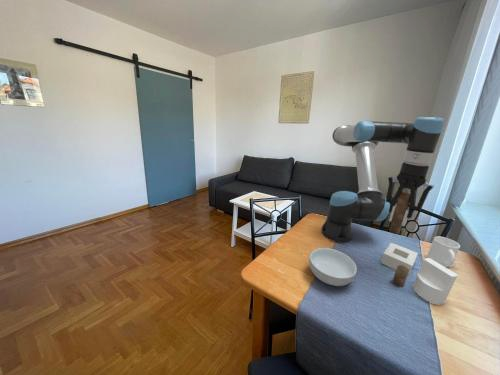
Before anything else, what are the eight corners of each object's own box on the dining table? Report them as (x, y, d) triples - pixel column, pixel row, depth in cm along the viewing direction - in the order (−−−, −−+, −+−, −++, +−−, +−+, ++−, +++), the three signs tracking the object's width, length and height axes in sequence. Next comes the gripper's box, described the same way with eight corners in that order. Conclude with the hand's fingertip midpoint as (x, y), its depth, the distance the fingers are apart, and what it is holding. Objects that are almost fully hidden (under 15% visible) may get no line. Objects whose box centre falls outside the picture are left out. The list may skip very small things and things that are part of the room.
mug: (460, 276, 82) (470, 255, 78) (435, 270, 84) (444, 249, 81) (445, 258, 92) (453, 238, 89) (423, 253, 95) (430, 234, 91)
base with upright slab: (451, 301, 70) (465, 273, 66) (432, 307, 67) (446, 278, 63) (423, 281, 78) (434, 256, 74) (406, 286, 75) (416, 260, 71)
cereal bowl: (330, 300, 68) (334, 284, 66) (298, 268, 82) (300, 254, 80) (362, 283, 76) (367, 268, 73) (328, 257, 90) (331, 243, 87)
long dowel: (387, 230, 80) (399, 193, 75) (390, 228, 83) (402, 191, 77) (397, 234, 78) (410, 196, 73) (400, 232, 80) (413, 194, 75)
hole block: (380, 262, 87) (383, 253, 86) (388, 251, 95) (391, 242, 93) (408, 276, 81) (412, 265, 79) (414, 262, 88) (418, 253, 87)
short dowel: (391, 283, 77) (396, 268, 74) (393, 278, 79) (398, 263, 77) (402, 288, 74) (408, 273, 72) (404, 283, 77) (410, 268, 74)
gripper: (385, 160, 75) (370, 216, 83) (444, 169, 63) (420, 235, 71) (392, 158, 80) (377, 212, 87) (449, 167, 68) (426, 228, 75)
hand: (397, 222), depth 79 cm, fingers closed on long dowel, 3 cm apart
